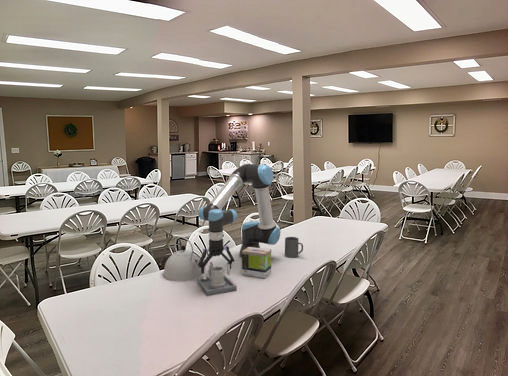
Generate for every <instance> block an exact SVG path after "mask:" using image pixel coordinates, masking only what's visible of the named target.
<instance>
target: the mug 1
mask: <svg viewBox="0 0 508 376" xmlns="http://www.w3.org/2000/svg"><path fill="white" fill-rule="evenodd" d="M208 266H209V267H208V271H207V277H209V280H210V281H211V287H212V288H214V289H218V288H223V287H224V285H225V281H224V275H225V270H224V267H222V266H214V264H213V262H212V261H209V265H208ZM225 276H226V275H225Z"/></svg>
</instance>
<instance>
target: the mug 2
mask: <svg viewBox="0 0 508 376" xmlns="http://www.w3.org/2000/svg"><path fill="white" fill-rule="evenodd" d="M299 245H301V246H300V247H301V248H300V251H299ZM303 251H304V245H303V243H301V242H299V238H298V237H296V236H287V237H285V239H284V257H286V258H290V259H291V258H292V259H293V258H298V256H299V254H302V253H303Z"/></svg>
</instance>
